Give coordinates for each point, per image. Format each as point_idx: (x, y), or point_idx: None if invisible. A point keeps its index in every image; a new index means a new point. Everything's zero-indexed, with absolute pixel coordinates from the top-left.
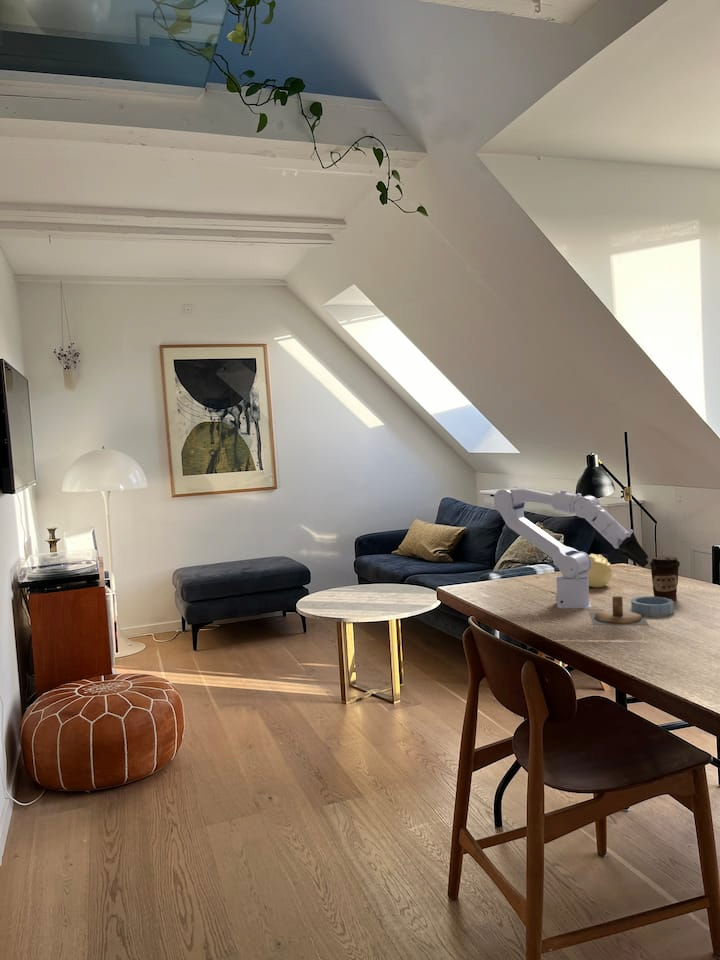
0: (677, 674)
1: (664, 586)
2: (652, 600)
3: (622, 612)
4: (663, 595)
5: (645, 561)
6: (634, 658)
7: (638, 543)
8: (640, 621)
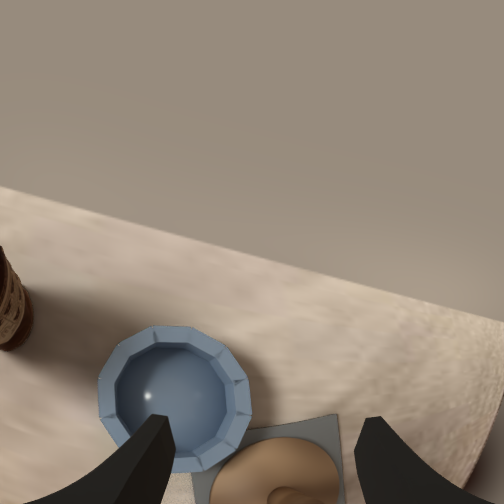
0: (493, 351)
1: (17, 312)
2: (115, 388)
3: (290, 488)
4: (22, 324)
5: (163, 436)
6: (475, 406)
7: (454, 485)
8: (305, 437)
